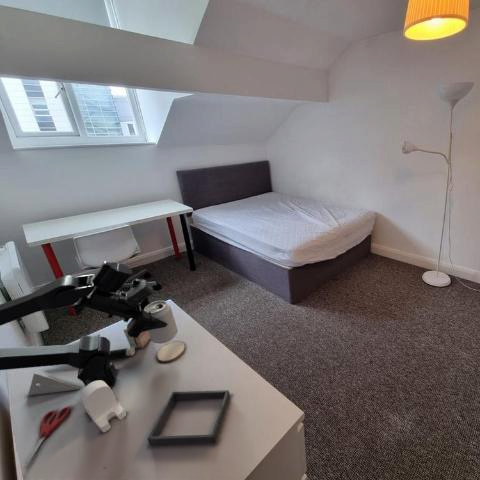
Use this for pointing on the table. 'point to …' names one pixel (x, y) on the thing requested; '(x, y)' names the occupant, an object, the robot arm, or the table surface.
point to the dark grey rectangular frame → (189, 439)
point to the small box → (138, 339)
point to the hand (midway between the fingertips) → (164, 318)
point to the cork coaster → (170, 351)
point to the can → (164, 314)
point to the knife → (119, 353)
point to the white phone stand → (101, 404)
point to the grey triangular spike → (48, 385)
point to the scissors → (49, 427)
